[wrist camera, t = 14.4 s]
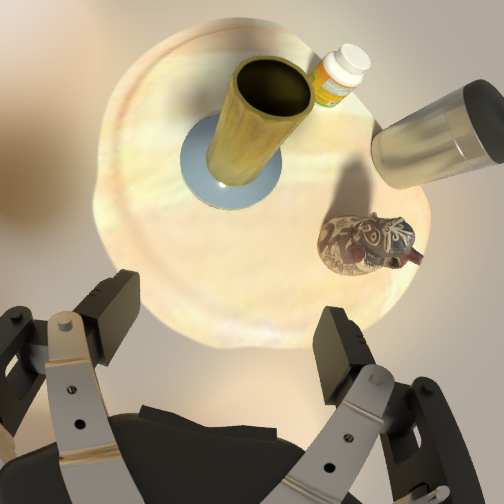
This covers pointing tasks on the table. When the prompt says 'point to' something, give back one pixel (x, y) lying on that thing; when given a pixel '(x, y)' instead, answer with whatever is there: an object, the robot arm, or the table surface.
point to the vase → (257, 117)
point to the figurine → (366, 244)
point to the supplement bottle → (338, 75)
